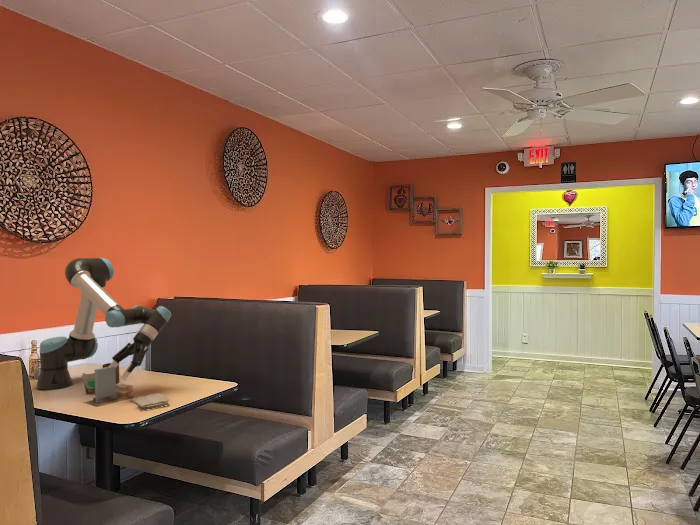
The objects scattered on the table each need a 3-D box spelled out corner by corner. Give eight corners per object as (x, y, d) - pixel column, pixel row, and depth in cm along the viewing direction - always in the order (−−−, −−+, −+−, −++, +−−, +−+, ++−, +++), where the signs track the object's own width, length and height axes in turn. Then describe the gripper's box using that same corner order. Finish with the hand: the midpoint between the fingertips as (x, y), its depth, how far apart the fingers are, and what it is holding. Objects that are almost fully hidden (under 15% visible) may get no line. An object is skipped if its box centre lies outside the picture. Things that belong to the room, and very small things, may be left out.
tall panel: (114, 398, 227) (113, 366, 227) (116, 398, 226) (115, 366, 226) (95, 402, 221) (94, 369, 221) (97, 403, 220) (96, 369, 220)
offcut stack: (124, 394, 234) (124, 383, 234) (134, 396, 229) (133, 385, 229) (113, 396, 230) (112, 385, 230) (122, 399, 225) (122, 388, 225)
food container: (79, 397, 234) (78, 375, 233) (82, 394, 239) (82, 372, 239) (109, 395, 237) (108, 373, 237) (111, 391, 243) (111, 370, 243)
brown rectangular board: (123, 395, 236) (123, 388, 236) (137, 399, 228) (137, 392, 228) (82, 404, 222) (82, 397, 222) (96, 409, 214) (96, 401, 214)
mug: (124, 384, 257) (123, 365, 257) (108, 387, 252) (107, 367, 252) (116, 380, 266) (116, 362, 266) (100, 383, 261) (100, 364, 261)
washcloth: (142, 412, 210) (142, 404, 210) (129, 403, 224) (128, 396, 224) (171, 406, 217) (171, 399, 217) (157, 398, 231) (156, 391, 231)
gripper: (166, 343, 232) (135, 384, 220) (136, 339, 247) (106, 377, 235) (155, 333, 227) (123, 374, 216) (125, 329, 243) (93, 368, 231)
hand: (114, 376), depth 225 cm, fingers open, 13 cm apart
